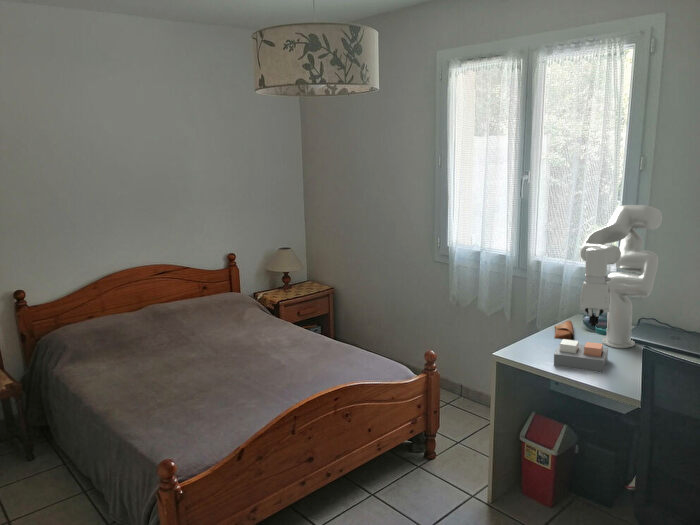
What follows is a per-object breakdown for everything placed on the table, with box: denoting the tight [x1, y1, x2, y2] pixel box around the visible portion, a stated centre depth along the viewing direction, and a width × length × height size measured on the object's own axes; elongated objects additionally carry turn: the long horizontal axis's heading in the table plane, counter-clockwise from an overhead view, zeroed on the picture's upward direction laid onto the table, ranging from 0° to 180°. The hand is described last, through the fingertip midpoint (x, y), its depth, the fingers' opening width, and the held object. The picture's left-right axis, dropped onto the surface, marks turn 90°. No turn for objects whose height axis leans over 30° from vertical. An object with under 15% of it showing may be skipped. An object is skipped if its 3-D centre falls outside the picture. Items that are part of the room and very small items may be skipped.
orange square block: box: [584, 341, 604, 357], centre depth 212 cm, size 6×6×4 cm
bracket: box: [595, 313, 607, 336], centre depth 252 cm, size 18×7×8 cm, turn 154°
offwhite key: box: [559, 339, 580, 353], centre depth 217 cm, size 6×6×4 cm
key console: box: [553, 343, 609, 374], centre depth 215 cm, size 14×18×5 cm
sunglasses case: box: [554, 320, 575, 340], centre depth 250 cm, size 18×7×7 cm, turn 161°
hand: (593, 325), depth 210 cm, fingers closed
